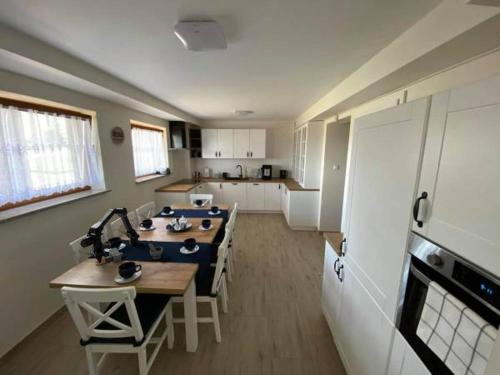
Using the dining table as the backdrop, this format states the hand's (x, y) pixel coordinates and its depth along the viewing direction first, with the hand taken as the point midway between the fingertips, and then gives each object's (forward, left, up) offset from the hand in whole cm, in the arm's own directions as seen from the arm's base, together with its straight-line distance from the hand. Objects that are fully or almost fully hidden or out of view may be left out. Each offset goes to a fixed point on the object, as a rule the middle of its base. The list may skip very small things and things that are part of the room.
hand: (99, 260), depth 162 cm
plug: (-6, 0, -2) cm, 7 cm away
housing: (-10, 0, -2) cm, 11 cm away
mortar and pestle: (-35, +20, -2) cm, 41 cm away
